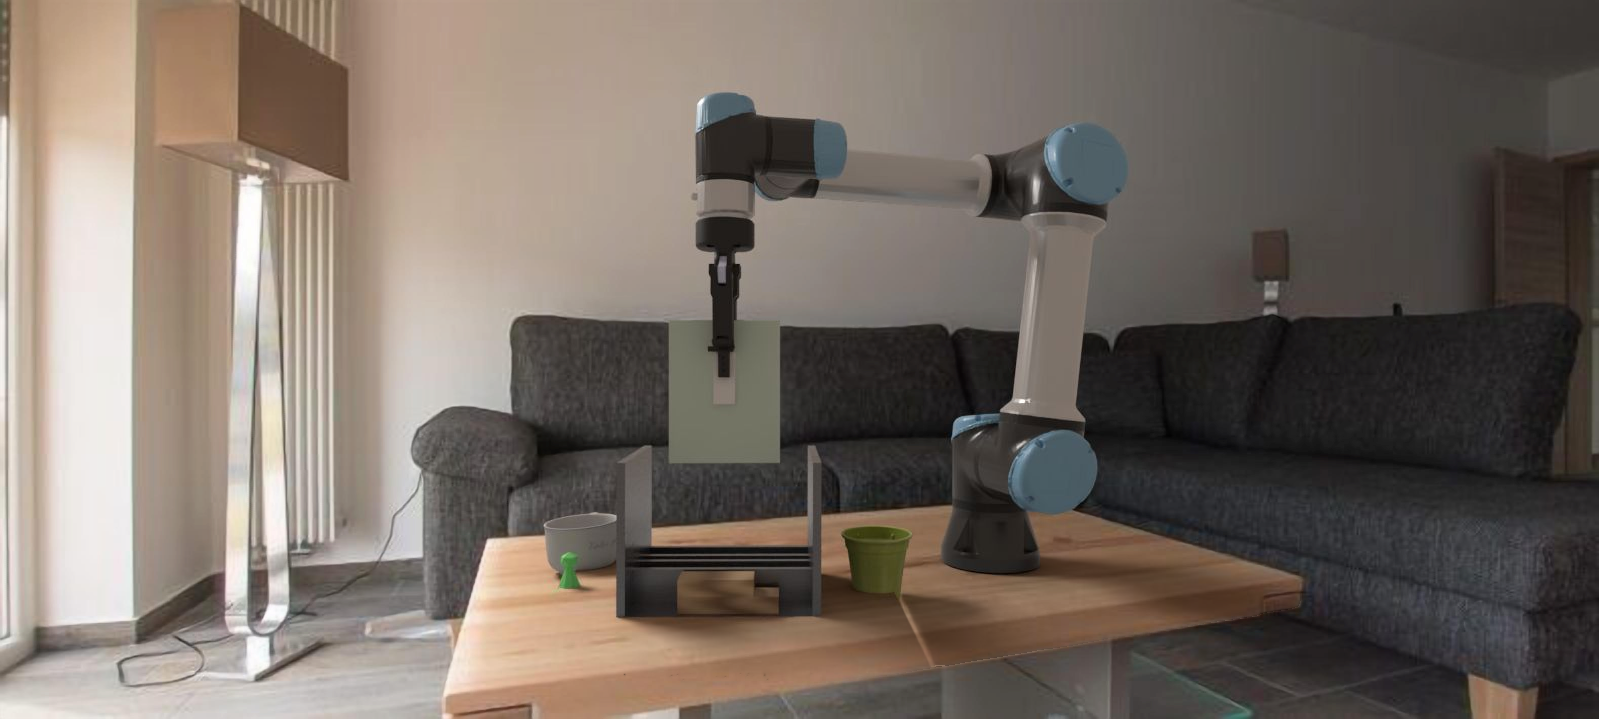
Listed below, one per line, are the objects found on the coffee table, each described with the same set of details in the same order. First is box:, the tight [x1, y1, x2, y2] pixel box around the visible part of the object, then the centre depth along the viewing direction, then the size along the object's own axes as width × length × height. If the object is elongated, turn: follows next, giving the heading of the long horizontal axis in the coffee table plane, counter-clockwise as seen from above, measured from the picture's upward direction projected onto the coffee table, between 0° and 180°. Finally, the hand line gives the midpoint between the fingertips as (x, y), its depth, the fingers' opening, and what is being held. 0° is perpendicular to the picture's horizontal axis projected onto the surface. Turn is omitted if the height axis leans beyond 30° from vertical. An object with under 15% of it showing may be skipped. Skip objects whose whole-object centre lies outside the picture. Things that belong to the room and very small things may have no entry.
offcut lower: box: [677, 587, 779, 614], centre depth 99 cm, size 12×4×2 cm, turn 91°
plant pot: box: [840, 525, 913, 600], centre depth 108 cm, size 9×9×9 cm
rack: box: [615, 445, 823, 618], centre depth 105 cm, size 24×20×20 cm
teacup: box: [543, 511, 616, 576], centre depth 123 cm, size 14×11×8 cm
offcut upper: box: [677, 571, 755, 597], centre depth 99 cm, size 9×4×2 cm, turn 91°
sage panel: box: [668, 319, 781, 464], centre depth 104 cm, size 14×2×18 cm, turn 91°
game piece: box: [552, 552, 581, 595], centre depth 109 cm, size 4×4×6 cm
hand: (725, 402), depth 104 cm, fingers closed on sage panel, 2 cm apart
